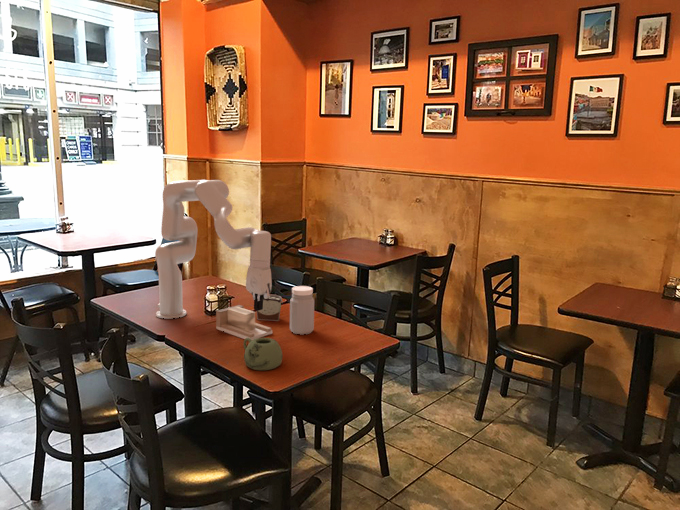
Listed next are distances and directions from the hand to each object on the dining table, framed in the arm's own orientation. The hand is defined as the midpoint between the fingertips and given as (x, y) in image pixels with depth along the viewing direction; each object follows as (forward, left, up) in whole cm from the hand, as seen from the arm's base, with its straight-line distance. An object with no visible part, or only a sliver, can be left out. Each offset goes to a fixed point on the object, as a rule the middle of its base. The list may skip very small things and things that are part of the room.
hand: (258, 309), depth 208 cm
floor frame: (-9, 0, -11) cm, 14 cm away
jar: (+8, +16, -11) cm, 21 cm away
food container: (-14, +19, -11) cm, 26 cm away
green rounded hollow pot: (+21, -18, -11) cm, 30 cm away
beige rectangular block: (-10, 0, -10) cm, 14 cm away
